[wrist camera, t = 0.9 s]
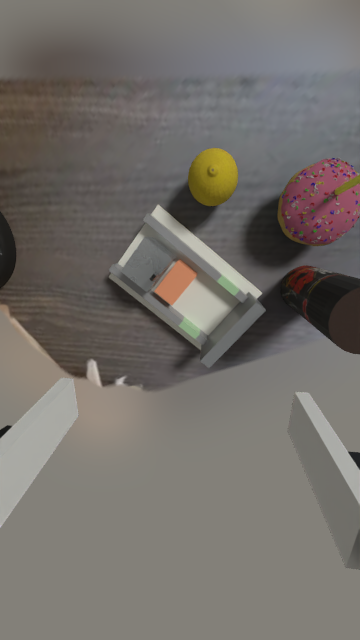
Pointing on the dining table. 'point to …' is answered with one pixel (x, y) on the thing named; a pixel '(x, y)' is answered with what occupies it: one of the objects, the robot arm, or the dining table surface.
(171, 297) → the orange block
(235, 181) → the lemon
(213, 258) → the board
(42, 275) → the dining table surface
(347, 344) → the deodorant
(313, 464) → the robot arm
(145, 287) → the gauge plunger
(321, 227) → the cupcake
